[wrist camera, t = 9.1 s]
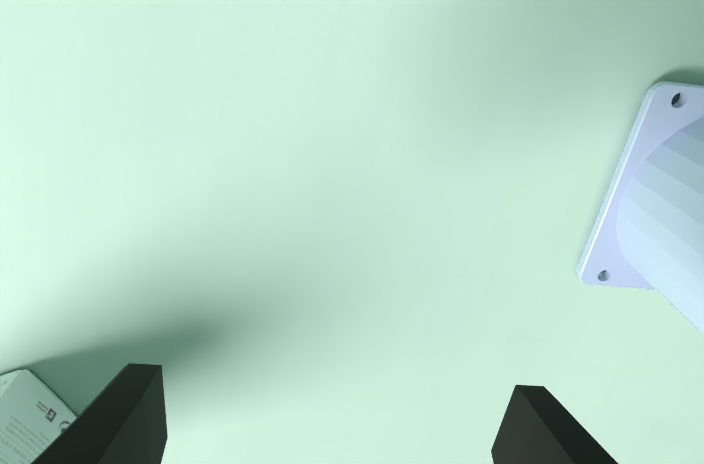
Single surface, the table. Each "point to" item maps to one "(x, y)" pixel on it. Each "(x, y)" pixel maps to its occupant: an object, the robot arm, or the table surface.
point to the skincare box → (28, 417)
